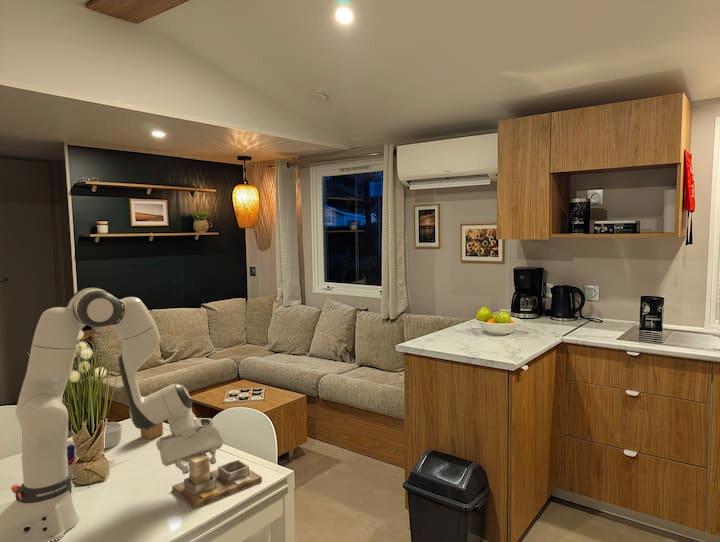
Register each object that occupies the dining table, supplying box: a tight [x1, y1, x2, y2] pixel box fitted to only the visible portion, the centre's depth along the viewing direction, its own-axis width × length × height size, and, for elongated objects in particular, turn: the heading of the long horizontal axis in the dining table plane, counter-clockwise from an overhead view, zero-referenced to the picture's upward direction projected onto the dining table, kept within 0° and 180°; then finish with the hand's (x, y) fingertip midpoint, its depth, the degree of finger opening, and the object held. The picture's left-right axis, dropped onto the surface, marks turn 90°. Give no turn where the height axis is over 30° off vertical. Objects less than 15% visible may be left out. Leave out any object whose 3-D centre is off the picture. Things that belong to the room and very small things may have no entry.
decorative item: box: [140, 388, 164, 440], centre depth 212 cm, size 7×7×20 cm
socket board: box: [171, 459, 263, 509], centre depth 168 cm, size 24×16×4 cm, turn 133°
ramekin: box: [104, 421, 123, 450], centre depth 205 cm, size 13×13×7 cm
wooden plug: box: [187, 453, 211, 486], centre depth 164 cm, size 5×5×10 cm
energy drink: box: [67, 440, 78, 481], centre depth 176 cm, size 5×5×12 cm
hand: (200, 467), depth 163 cm, fingers open, 8 cm apart
